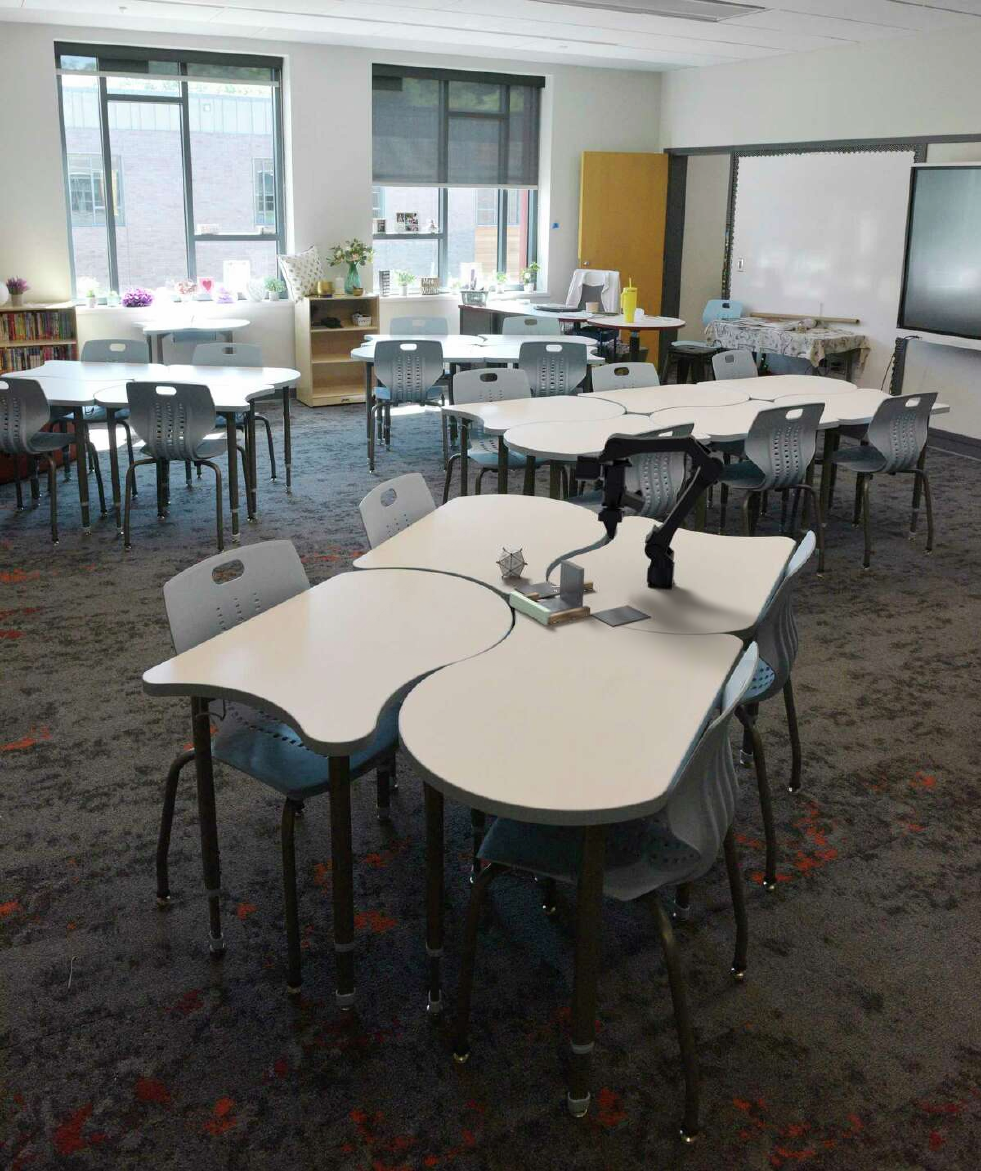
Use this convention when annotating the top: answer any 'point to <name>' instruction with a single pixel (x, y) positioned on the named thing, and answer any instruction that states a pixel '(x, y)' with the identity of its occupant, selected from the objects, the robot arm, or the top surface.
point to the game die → (511, 563)
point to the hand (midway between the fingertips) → (611, 538)
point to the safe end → (529, 607)
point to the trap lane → (608, 616)
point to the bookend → (567, 589)
